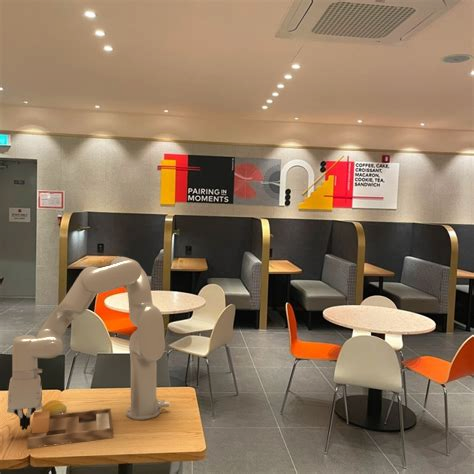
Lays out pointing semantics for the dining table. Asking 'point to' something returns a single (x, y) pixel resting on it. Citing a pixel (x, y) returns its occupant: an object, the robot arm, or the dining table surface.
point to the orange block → (41, 422)
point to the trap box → (75, 428)
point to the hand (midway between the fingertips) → (25, 427)
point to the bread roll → (54, 407)
